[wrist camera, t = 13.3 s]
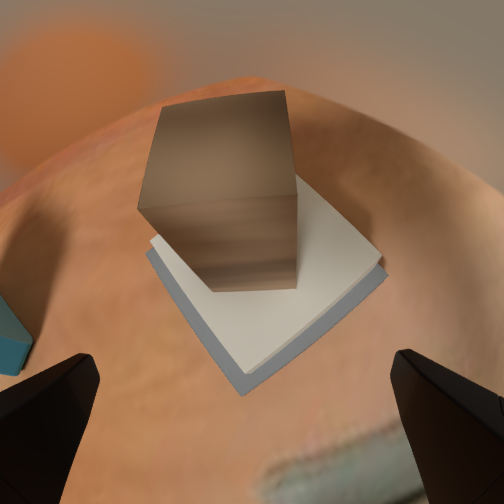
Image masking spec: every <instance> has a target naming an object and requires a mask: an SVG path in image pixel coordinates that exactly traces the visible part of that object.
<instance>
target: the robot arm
mask: <svg viewBox="0 0 504 504" xmlns="http://www.w3.org/2000/svg"><path fill="white" fill-rule="evenodd" d="M390 379H391V383H392V387H393V390H394V394H395V398H396V402H397V406H398V410H399V414H400V418H401V421H402V424H403V427H404V430H405V432H406V435H407V438H408V441H409V443H410V446H411V449H412V452H413V455H414V458H415V461H416V464H417V467H418V470H419V473H420V476H421V479H422V482H423V485H424V488H425V491H426V495H427V498H428V501H429V504H504V398H503V397H501V396H499V397H498V395H497V394H495V393H494V392H492V391H490V390H488V389H486V388H484V387H482V386H480V385H478V384H476V383H474V382H472V381H470V380H468V379H467V378H465V377H463V376H461V375H459V374H457V373H455V372H453V371H451V370H449V369H447V368H445V367H444V366H442V365H440V364H438V363H436V362H434V361H432V360H430V359H428V358H426V357H425V356H423V355H421V354H419V353H417V352H415V351H413V350H411V349H404V350H398V351H397V352H396V354H395V357H394V361H393V365H392V369H391V373H390ZM99 383H100V375H99V372H98V370H97V367H96V364H95V362H94V359H93V357H92V356H91V355H90V354H84V353H78V354H76V355H74V356H72V357H70V358H68V359H66V360H64V361H62V362H60V363H58V364H56V365H54V366H52V367H50V368H48V369H46V370H44V371H42V372H40V373H38V374H36V375H34V376H32V377H30V378H28V379H26V380H24V381H22V382H20V383H18V384H15V385H13V386H11V387H9V388H7V389H5V390H3V391H1V392H0V504H59V503H60V500H61V496H62V493H63V490H64V487H65V484H66V481H67V478H68V475H69V472H70V469H71V466H72V463H73V460H74V458H75V455H76V452H77V449H78V447H79V444H80V441H81V439H82V436H83V434H84V431H85V428H86V426H87V423H88V420H89V417H90V414H91V410H92V407H93V403H94V400H95V396H96V393H97V389H98V386H99Z"/></svg>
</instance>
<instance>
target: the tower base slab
mask: <svg viewBox="0 0 504 504" xmlns="http://www.w3.org/2000/svg"><path fill="white" fill-rule="evenodd" d="M145 254H146V256H147V258H148V259H149V261H150V263H151V264H152V266H153V268H154V269H155V271H156V273H157V274H158V276H159V278H160V279H161V281H162V283H163V284H164V286H165V287H166V289H167V291H168V292H169V294H170V295H171V297H172V299H173V300H174V302H175V303H176V305H177V306H178V308H179V309H180V311H181V313H182V314H183V316H184V317H185V319H186V320H187V322H188V323H189V325H190V326H191V328H192V329H193V331H194V332H195V334H196V335H197V337H198V338H199V339H200V341H201V342H202V344H203V345H204V347H205V348H206V350H207V351H208V352H209V354H210V355H211V357H212V358H213V359H214V361H215V362H216V364H217V365H218V366H219V368H220V369H221V371H222V372H223V373H224V375H225V376H226V377H227V379H228V380H229V381H230V383H231V384H232V385H233V387H234V388H235V389H236V391H237V392H238V393H239V395H240V396H241V397H242V396H244V395H246V394H247V393H249V392H250V391H251V390H253V389H254V388H256V387H257V386H258V385H260V384H261V383H263V382H264V381H265V380H267V379H268V378H269V377H271V376H272V375H274V374H275V373H276V372H278V371H279V370H280V369H282V368H283V367H284V366H285V365H287V364H288V363H289V362H291V361H292V360H293V359H295V358H296V357H297V356H298V355H300V354H301V353H302V352H303V351H305V350H306V349H307V348H308V347H310V346H311V345H312V344H313V343H315V342H316V341H317V340H318V339H319V338H321V337H322V336H323V335H324V334H325V333H327V332H328V331H329V330H330V329H331V328H332V327H334V326H335V325H336V324H337V323H338V322H339V321H341V320H342V319H343V318H344V317H345V316H346V315H347V314H349V313H350V312H351V311H352V310H353V309H354V308H355V307H356V306H358V305H359V304H360V303H361V302H362V301H363V300H364V299H365V298H366V297H367V296H368V295H370V294H371V293H372V292H373V291H374V290H375V289H376V288H377V287H378V286H379V285H380V284H381V283H382V282H383V281H384V280H385V279H386V278H387V277H388V276H389V275H388V274H387V273H386V271H385V270H384V269H383V268H382V267H381V266H380V265H379V264H378V263H377V264H376V265H375V267H374V268H373V269H372V270H371V271H370V272H369V273H368V274H367V275H366V276H365V277H364V278H363V279H362V280H361V281H360V282H359V283H358V284H357V285H356V286H354V287H353V288H352V289H351V290H350V291H349V292H348V293H347V294H346V295H345V296H344V297H343V298H341V299H340V300H339V301H338V302H337V303H336V304H335V305H334V306H333V307H331V308H330V309H329V310H328V311H327V312H326V313H325V314H323V315H322V316H321V317H320V318H319V319H318V320H317V321H315V322H314V323H313V324H312V325H311V326H310V327H308V328H307V329H306V330H305V331H304V332H302V333H301V334H300V335H299V336H298V337H296V338H295V339H294V340H293V341H292V342H290V343H289V344H288V345H287V346H285V347H284V348H283V349H282V350H280V351H279V352H278V353H277V354H275V355H274V356H273V357H272V358H270V359H269V360H268V361H267V362H265V363H264V364H263V365H261V366H260V367H259V368H258V369H256V370H255V371H254V372H252V373H251V374H245V373H244V372H243V371H242V370H241V368H240V367H239V366H238V364H237V363H236V362H235V361H234V359H233V358H232V357H231V355H230V354H229V353H228V352H227V350H226V349H225V348H224V346H223V345H222V344H221V342H220V341H219V340H218V338H217V337H216V336H215V334H214V333H213V332H212V330H211V329H210V328H209V326H208V325H207V324H206V322H205V321H204V320H203V318H202V317H201V315H200V314H199V313H198V311H197V310H196V308H195V307H194V306H193V304H192V303H191V301H190V300H189V299H188V297H187V296H186V294H185V293H184V291H183V290H182V289H181V287H180V286H179V284H178V283H177V281H176V280H175V278H174V277H173V275H172V274H171V272H170V271H169V269H168V268H167V266H166V265H165V263H164V262H163V260H162V259H161V257H160V256H159V254H158V253H157V251H156V250H155V248H154V247H153V248H151V249H150V250H149V251H148V252H146V253H145Z"/></svg>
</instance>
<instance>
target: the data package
mask: <svg viewBox="0 0 504 504" xmlns="http://www.w3.org/2000/svg"><path fill="white" fill-rule="evenodd" d="M32 343H33V339H32V337H31V335H30V334H29V333H28V331H27V330H26V329H25V328H24V326H23V325H22V324H21V322H20V321H19V320H18V318H17V317H16V316H15V314H14V313H13V312H12V310H11V309H10V307H9V306H8V305H7V303H6V302H5V300H4V299H3V297H2V296H1V295H0V374H3V375H9V376H18V375H19V374H20V371H21V369H22V366H23V364H24V361H25V359H26V357H27V354H28V352H29V350H30V347H31V345H32Z"/></svg>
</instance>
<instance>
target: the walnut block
mask: <svg viewBox="0 0 504 504" xmlns="http://www.w3.org/2000/svg"><path fill="white" fill-rule="evenodd" d="M137 209H138V211H139V212H140V213H141V214H142V215H143V216H144V217H145V219H146V220H147V221H148V222H149V223H150V224H151V225H152V227H153V228H154V229H155V230H156V231H157V232H158V233H159V235H160V236H161V237H162V238H163V239H164V240H165V241H166V242H167V243H168V245H169V246H170V247H171V248H172V249H173V250H174V251H175V252H176V253H177V255H178V256H179V257H180V258H181V259H182V260H183V261H184V262H185V263H186V264H187V265H188V266H189V268H190V269H191V270H192V271H193V272H194V273H195V274H196V275H197V276H198V277H199V278H200V279H201V280H202V281H203V283H204V284H205V285H206V286H207V287H208V288H209V289H210V290H211V291H212V292H238V291H262V290H283V289H296V266H297V213H298V193H297V184H296V175H295V166H294V157H293V149H292V141H291V133H290V125H289V118H288V111H287V104H286V97H285V90H282V91H268V92H257V93H247V94H238V95H230V96H222V97H215V98H209V99H202V100H196V101H191V102H185V103H180V104H175V105H170V106H165V107H162V110H161V113H160V117H159V120H158V124H157V127H156V131H155V134H154V138H153V142H152V146H151V150H150V153H149V157H148V162H147V166H146V170H145V174H144V179H143V183H142V188H141V192H140V197H139V202H138V207H137Z"/></svg>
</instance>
